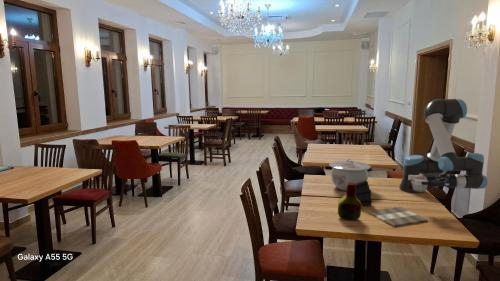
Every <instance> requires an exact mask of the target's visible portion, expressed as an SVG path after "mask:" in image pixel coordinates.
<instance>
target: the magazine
mask: <svg viewBox="0 0 500 281" xmlns="http://www.w3.org/2000/svg"><path fill="white" fill-rule="evenodd" d="M355 195H356V198H357V199H358V200H359V201H360V203H361V206H364V207H372V202H373V198H372V190H371V189H370V185H369V181H368V180H367V181H366V180H365V181H362V182H359V183H356V184H355Z"/></svg>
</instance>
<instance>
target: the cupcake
mask: <svg viewBox="0 0 500 281" xmlns="http://www.w3.org/2000/svg"><path fill="white" fill-rule="evenodd" d="M415 180H427V178H426V177H425V176H423V175H422V174H421V173H420V174H419V175H417V176H415V177H414V178H413V181H411V183H412V186H413V190H414V191H417V192H421V193H425V192H426V191H427V189H428V185H415Z"/></svg>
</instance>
